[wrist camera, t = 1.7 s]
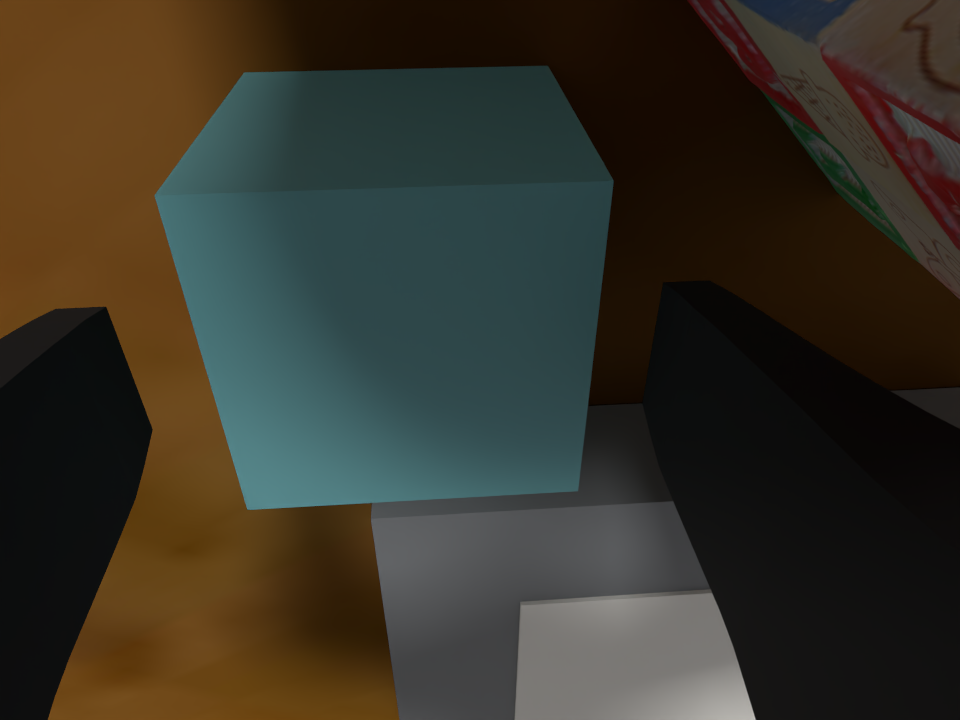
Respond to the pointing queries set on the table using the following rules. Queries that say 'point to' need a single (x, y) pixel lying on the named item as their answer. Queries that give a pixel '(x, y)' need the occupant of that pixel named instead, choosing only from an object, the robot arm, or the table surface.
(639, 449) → the white-inset grey tile
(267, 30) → the table surface
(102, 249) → the table surface
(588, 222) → the teal cube
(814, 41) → the stack of blocks
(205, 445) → the table surface
